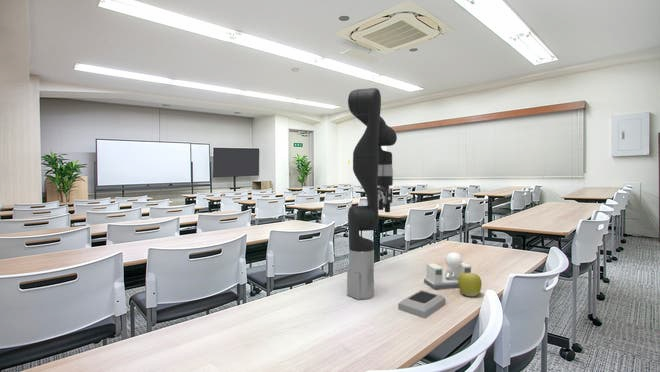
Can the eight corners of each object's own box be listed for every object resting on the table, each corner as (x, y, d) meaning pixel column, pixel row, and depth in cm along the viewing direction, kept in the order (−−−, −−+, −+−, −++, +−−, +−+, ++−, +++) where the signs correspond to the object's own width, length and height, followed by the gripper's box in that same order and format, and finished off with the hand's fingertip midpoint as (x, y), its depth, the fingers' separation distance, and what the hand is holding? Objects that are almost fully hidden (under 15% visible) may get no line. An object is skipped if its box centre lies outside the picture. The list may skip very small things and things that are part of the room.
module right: (463, 281, 127) (463, 266, 127) (454, 276, 134) (454, 262, 133) (471, 281, 128) (471, 266, 127) (461, 275, 134) (461, 261, 134)
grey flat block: (398, 299, 107) (420, 287, 118) (398, 310, 107) (420, 297, 118) (424, 308, 100) (445, 294, 111) (424, 319, 100) (445, 305, 111)
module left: (434, 284, 125) (434, 268, 124) (426, 278, 131) (426, 263, 131) (442, 283, 125) (443, 268, 125) (434, 277, 132) (434, 263, 132)
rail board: (434, 289, 124) (434, 284, 124) (424, 282, 132) (424, 277, 132) (473, 286, 127) (473, 281, 127) (461, 279, 135) (461, 274, 135)
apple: (483, 298, 113) (474, 270, 114) (460, 300, 117) (452, 273, 119) (486, 291, 120) (478, 264, 121) (464, 293, 124) (457, 267, 125)
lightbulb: (442, 274, 134) (450, 249, 134) (457, 281, 131) (466, 255, 130) (437, 275, 129) (446, 249, 129) (453, 282, 125) (462, 255, 125)
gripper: (398, 175, 137) (397, 213, 138) (386, 174, 151) (386, 209, 152) (381, 175, 135) (381, 213, 136) (371, 174, 149) (371, 209, 150)
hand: (384, 211), depth 144 cm, fingers open, 8 cm apart
